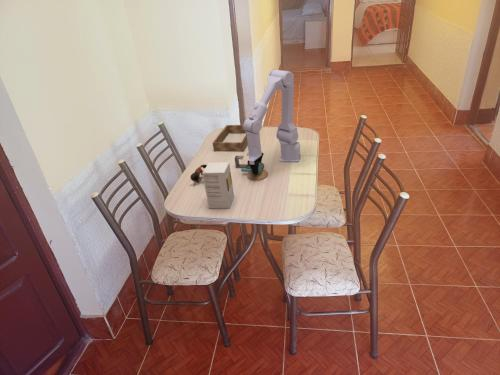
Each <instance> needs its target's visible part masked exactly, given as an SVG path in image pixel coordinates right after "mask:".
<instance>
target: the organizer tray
mask: <svg viewBox="0 0 500 375" xmlns="http://www.w3.org/2000/svg"><path fill="white" fill-rule="evenodd" d="M243 125H244V124H226V125H225V126H224V128H223V129H222V130H221V131H220V133H219V134H218V135H217V137H216V138H215V139H214V140H213V142H212V147H213V152H230V153H231V152H236V153H237V152H238V153H239V152H243V153H244V152H245V150H246V148H247V147H248V142H247V134H246V132H245V130H244V129H243ZM229 134H245V136H244V137H243V139H242V140H241V142H239V141H238V142H234V141H233V142H227V141H226V142H225V139H226V138H227V137H226V136H228V135H229Z"/></svg>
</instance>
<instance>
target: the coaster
mask: <svg viewBox="0 0 500 375" xmlns="http://www.w3.org/2000/svg"><path fill="white" fill-rule="evenodd" d="M268 172H269V171H268V170H266V169H264V168H263V169H262V172H261V173H260V174H258V175H253V174H251V172H246V178H247V179H249V180H250V181H254V182H256V181H257V180H258V181H262V180H265V179H266V178H268V176H269V173H268Z"/></svg>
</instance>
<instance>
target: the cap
mask: <svg viewBox="0 0 500 375" xmlns="http://www.w3.org/2000/svg"><path fill="white" fill-rule="evenodd" d="M261 163H262V162H261ZM261 163H259V167H258V174H260V173H261V172H262V168H261ZM240 172H241V173H242V172H243V173H248V172H251V174H253V172H252V170H251V168H250V169H246V168H240Z"/></svg>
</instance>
